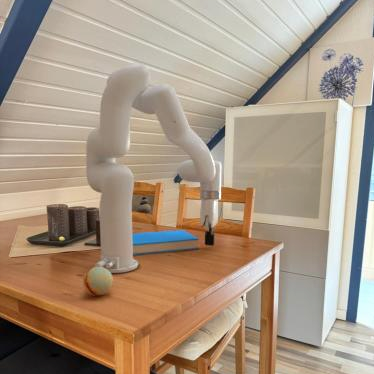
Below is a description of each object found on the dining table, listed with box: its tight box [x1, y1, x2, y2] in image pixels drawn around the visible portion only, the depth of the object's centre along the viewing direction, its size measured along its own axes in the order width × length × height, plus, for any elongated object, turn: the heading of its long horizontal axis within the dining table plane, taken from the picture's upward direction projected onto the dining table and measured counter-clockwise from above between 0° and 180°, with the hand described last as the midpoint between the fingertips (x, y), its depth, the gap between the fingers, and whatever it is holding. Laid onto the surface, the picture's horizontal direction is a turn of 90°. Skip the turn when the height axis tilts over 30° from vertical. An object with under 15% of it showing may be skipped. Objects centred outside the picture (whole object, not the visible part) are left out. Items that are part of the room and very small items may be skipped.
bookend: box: [84, 218, 101, 247], centre depth 139 cm, size 14×9×10 cm, turn 163°
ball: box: [82, 266, 114, 297], centre depth 85 cm, size 7×7×7 cm
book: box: [132, 229, 199, 256], centre depth 132 cm, size 17×4×25 cm
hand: (209, 244), depth 129 cm, fingers closed
